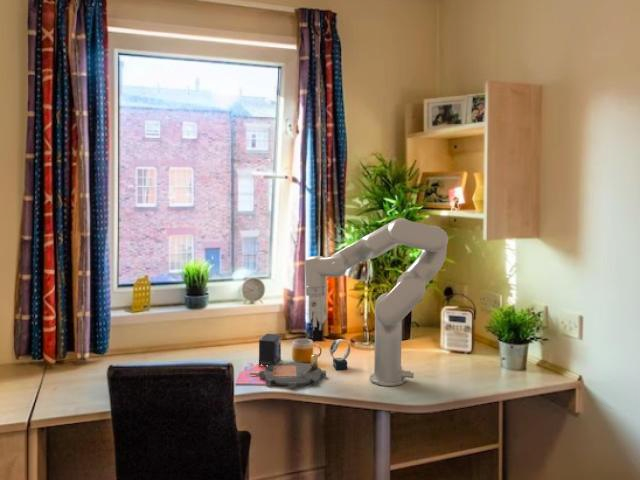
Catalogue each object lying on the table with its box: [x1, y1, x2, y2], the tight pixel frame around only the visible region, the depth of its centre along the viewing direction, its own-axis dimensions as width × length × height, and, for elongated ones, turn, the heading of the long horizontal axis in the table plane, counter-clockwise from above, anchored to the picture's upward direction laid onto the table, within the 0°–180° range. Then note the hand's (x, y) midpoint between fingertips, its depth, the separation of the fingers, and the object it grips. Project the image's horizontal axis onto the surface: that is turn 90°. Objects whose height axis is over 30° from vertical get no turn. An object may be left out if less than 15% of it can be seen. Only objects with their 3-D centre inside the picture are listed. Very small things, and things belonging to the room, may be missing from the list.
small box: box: [258, 333, 282, 366], centre depth 220 cm, size 11×6×10 cm, turn 168°
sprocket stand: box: [249, 370, 260, 376], centre depth 203 cm, size 21×10×1 cm, turn 79°
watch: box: [328, 338, 351, 371], centre depth 213 cm, size 6×8×11 cm
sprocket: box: [258, 353, 327, 389], centre depth 202 cm, size 24×24×7 cm
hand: (318, 340), depth 201 cm, fingers closed
